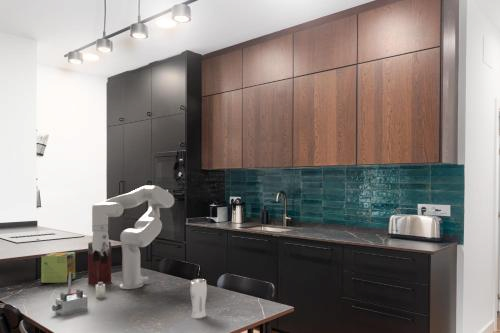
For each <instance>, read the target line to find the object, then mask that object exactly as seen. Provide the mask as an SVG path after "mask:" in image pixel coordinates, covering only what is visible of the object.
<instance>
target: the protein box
mask: <svg viewBox="0 0 500 333" xmlns="http://www.w3.org/2000/svg"><path fill="white" fill-rule="evenodd" d="M40 258H41V260H40V261H41V262H40V264H41V267H40V268H41V270H40V272H41V273H40V274H41V275H40V276H41V277H40V278H41V280H40V282H41V284H42V283H44V284H45V283H49V284H51V283H54V284H55V283H61V284H62V283H68V281H69V273H70V272H71V281H72V280H74V279H75V278H76V252H75V251H73V252H50V253H47V254H43V255H41V257H40Z"/></svg>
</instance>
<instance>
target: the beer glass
mask: <svg viewBox="0 0 500 333" xmlns="http://www.w3.org/2000/svg"><path fill="white" fill-rule="evenodd" d="M189 290H190V298H191V299H190V301H191V305H192V311H191V318H192V319H196V320H199V319H204V318H206V317H207V313H206V312H207V311H206V301H207V291H208V287H207V280H206V279H204V278H194V279H192V280H190V288H189Z"/></svg>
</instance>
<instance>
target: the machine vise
mask: <svg viewBox="0 0 500 333" xmlns="http://www.w3.org/2000/svg"><path fill="white" fill-rule="evenodd" d="M75 291H76V292H75V293H76V294H73V295H69V296H67V294H68V293H65V292H64V291H61V292H60V293H59V294H60V295H59V296H60V297H55V304H53V305H52V306H51V310H52V312H56V313H57V314H58V315H60V316H61V317H64V316H68V315H72V314H76V313H81V312H84V311H87V310H88V304H89V303H88V299H89V298H88V297H89V296H87V295H85V294H84V291H83V290H81V289H80V288H77V289H76V290H75ZM88 311H89V310H88Z"/></svg>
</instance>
